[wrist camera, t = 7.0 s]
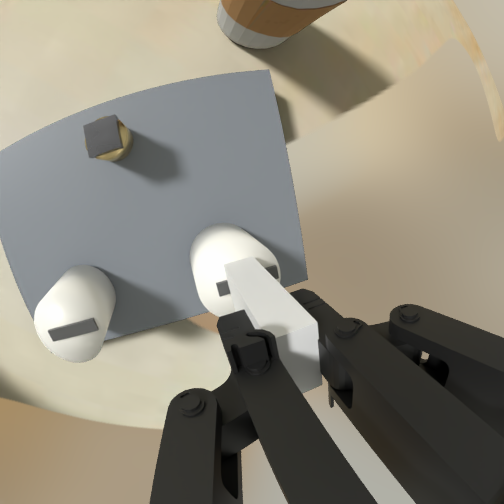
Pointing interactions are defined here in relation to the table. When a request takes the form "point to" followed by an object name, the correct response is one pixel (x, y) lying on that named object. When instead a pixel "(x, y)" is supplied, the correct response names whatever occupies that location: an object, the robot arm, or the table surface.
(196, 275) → the knob
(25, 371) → the table surface
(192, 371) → the table surface
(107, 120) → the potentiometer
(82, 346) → the knob
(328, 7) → the coffee cup
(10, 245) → the plate
